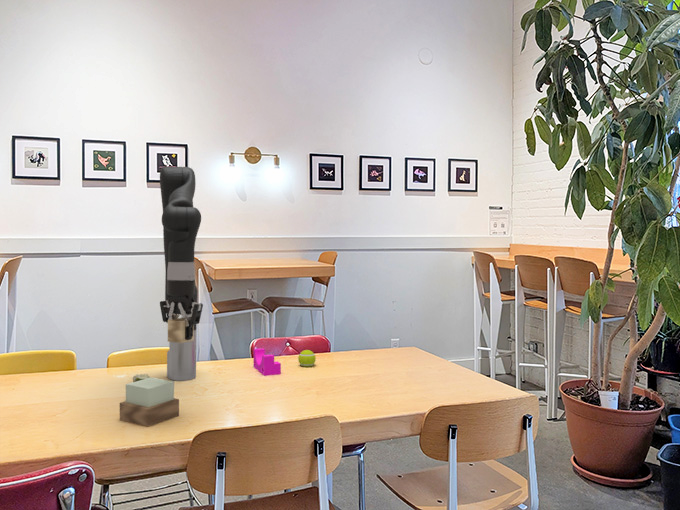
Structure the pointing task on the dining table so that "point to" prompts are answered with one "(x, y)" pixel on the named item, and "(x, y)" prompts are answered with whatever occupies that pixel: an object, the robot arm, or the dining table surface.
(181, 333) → the oak block
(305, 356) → the tennis ball
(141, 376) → the fruit
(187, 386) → the dining table surface
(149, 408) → the tower base
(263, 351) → the toy block
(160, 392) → the pale green square block
